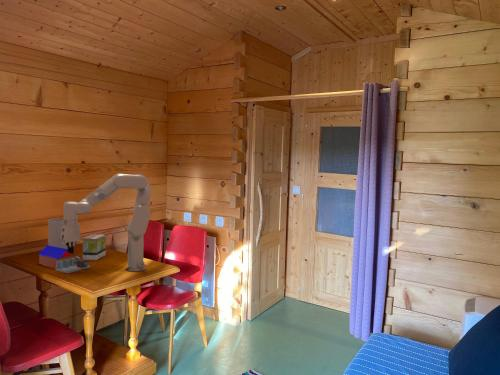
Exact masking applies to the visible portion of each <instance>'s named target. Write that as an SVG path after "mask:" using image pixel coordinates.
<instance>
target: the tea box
mask: <svg viewBox="0 0 500 375" xmlns="http://www.w3.org/2000/svg"><path fill="white" fill-rule="evenodd" d="M106 240H107V235H106V234H90V235H88V236H85V237H83V238H82V259H85V260H87V261H97V260H99V259H101V258H102V257H105V256H106V253H107V252H106V249H107V248H106V246H107V243H106Z"/></svg>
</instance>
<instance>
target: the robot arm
mask: <svg viewBox="0 0 500 375" xmlns="http://www.w3.org/2000/svg"><path fill="white" fill-rule="evenodd" d="M120 189H131V190H132V189H135V190H136V197H135V202H134V204H133V208H132V214H133V216H132V217H133V218H132V219H131V220H130V221H129V222H128V224H127V267H126V268H125V269H124V270H125V271H128V272H140V271H144V270H146V269H147V267H148V265H147V264H145V261H144V245H145V244H144V238H145V237H144V235H145V234H146V231H147V228H148V226H149V225H148V224H149V222H150V218H151V209H150V207H149V205H150V201H151V196H152V188H151V185H150V183H149V180H148V178H147V177H146V176H145V175H143V174H139V173H138V174H126V173H120V172H118V173H116V174H114V175H113V176H111V177H110V178H109V179H108V180H106V181H105V182H104V183H102V184H101V185H99V186H98V187H97V188H95V189H94V190H93V191H91V193H89V194H88V195H86V196H85V197H84V198H83V199H81V200H80V201H79V202H78V201H73V200H72V201H69V200H68V201H65V202H64V203H63V218H64V221H63V222H62V224H64V225H63V226H62V233H61V240H62V244H64V245H66V246H67V251H68V253H73V254H75V253H74V251H75V250H74V247H75V246H76V244H77V243H78V242H80V240H81V229H80V224H79V223H78V217H79V216H78V214H80V215H88V214H89V213H91V211H92V209H93V208H94V207H95V206H96V205H97V204H98V203H101V202H102V201H104V200H107V199H108V198H110V197H111V196H113V195H114V194H115V193H116V192H118V191H119V190H120Z"/></svg>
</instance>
